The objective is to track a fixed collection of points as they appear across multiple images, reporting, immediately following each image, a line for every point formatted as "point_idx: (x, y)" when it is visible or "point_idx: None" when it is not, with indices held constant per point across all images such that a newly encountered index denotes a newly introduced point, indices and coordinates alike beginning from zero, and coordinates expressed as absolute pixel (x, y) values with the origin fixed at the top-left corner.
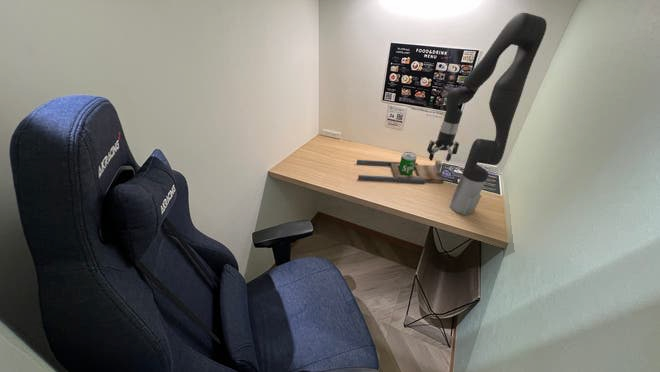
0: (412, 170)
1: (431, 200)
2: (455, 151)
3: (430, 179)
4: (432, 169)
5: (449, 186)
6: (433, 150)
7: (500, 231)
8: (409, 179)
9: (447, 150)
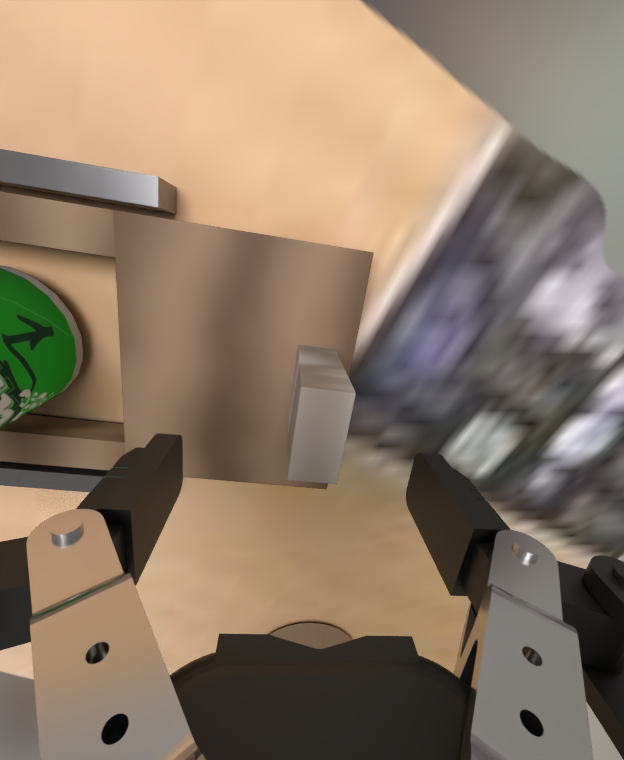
0: (26, 412)
1: (170, 613)
2: (611, 707)
3: (216, 475)
4: (295, 333)
5: (352, 500)
6: (93, 581)
7: None
8: (21, 484)
9: (487, 584)
